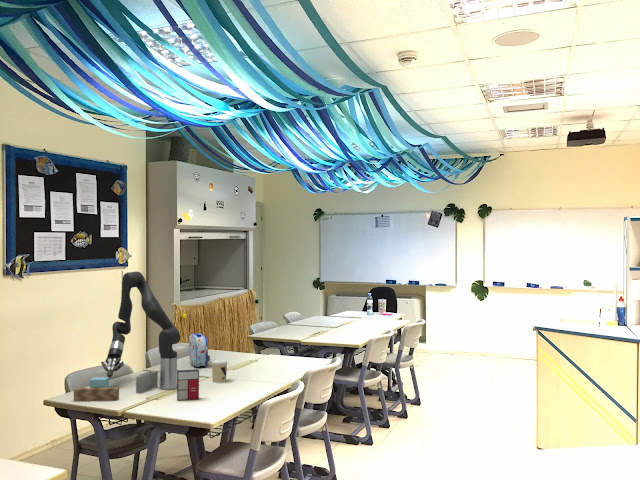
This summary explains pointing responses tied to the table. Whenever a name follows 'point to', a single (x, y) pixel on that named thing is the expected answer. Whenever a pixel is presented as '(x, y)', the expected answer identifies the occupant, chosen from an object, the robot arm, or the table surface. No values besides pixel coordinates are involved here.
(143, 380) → the cassette player
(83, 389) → the wall
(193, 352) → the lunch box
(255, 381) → the table surface
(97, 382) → the sliding block
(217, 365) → the coffee cup
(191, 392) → the gray and red box
